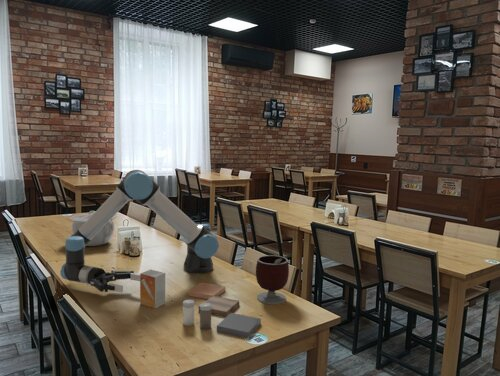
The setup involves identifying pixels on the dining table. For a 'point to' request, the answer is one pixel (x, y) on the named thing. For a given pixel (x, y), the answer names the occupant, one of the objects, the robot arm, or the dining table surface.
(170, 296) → the dining table surface
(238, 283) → the dining table surface
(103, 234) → the chamber pot
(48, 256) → the dining table surface
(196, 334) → the dining table surface
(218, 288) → the terracotta coaster
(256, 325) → the slate coaster
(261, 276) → the mate gourd
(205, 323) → the pepper shaker
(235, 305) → the walnut coaster
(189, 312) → the salt shaker
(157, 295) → the small box
